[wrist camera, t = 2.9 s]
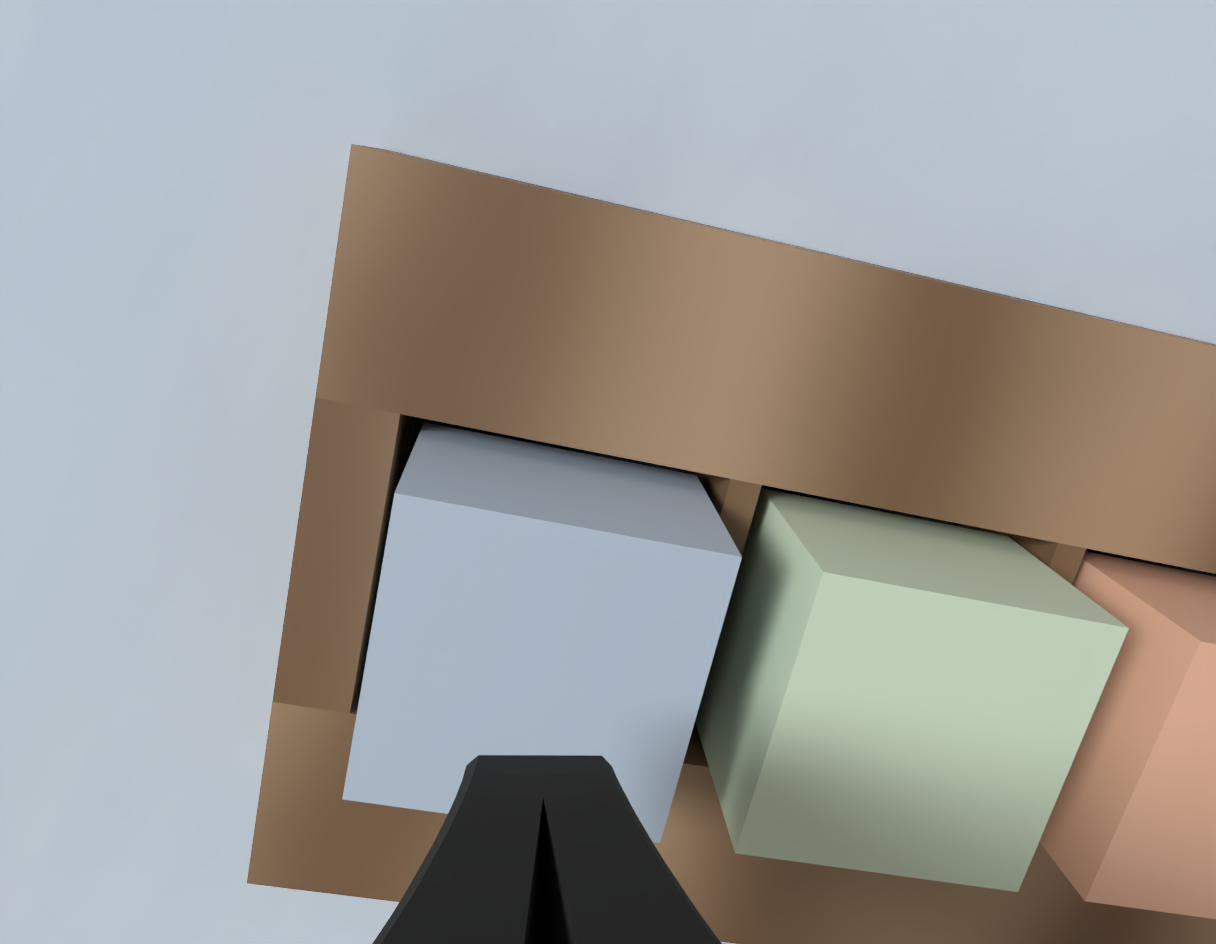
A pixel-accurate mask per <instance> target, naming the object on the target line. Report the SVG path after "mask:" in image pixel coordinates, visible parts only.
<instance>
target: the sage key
mask: <svg viewBox="0 0 1216 944" xmlns="http://www.w3.org/2000/svg"><path fill="white" fill-rule="evenodd" d="M1128 629H1129V628H1128V627H1127V626H1125V625H1124V624H1123V623H1122V622H1120V621H1119V620H1118V619H1116V618H1115V617H1114V616H1112V615H1111V614H1110V613H1108V612H1107V611H1106V610H1104V609H1103V608H1102V607H1100V606H1099V605H1098V604H1097V603H1095V602H1094V601H1093V600H1091V599H1090V598H1089V597H1087V596H1086V595H1085V594H1083V593H1082V592H1081V591H1079V590H1078V589H1077V588H1075V587H1074V586H1073V585H1071V584H1070V583H1069V582H1068V581H1066V580H1065V579H1064V578H1062V577H1061V576H1060V575H1058V574H1057V573H1056V572H1054V571H1053V570H1052V569H1050V568H1049V567H1048V566H1046V565H1045V564H1044V563H1042V562H1041V561H1040V560H1039V559H1037V558H1036V557H1035V556H1033V555H1032V554H1031V553H1029V552H1028V551H1027V550H1025V549H1024V548H1023V547H1021V546H1020V545H1019V544H1017V543H1016V542H1015V541H1013V540H1012V539H1011V538H1010V537H1008V536H1004V535H999V534H994V533H989V532H984V531H978V530H973V529H968V528H963V527H958V526H953V525H948V524H943V523H937V522H932V521H927V520H922V519H917V518H912V517H907V516H902V515H897V514H891V513H886V512H881V511H876V510H871V509H866V508H861V507H856V506H850V505H845V504H840V503H835V502H830V501H825V500H820V499H815V498H810V497H804V496H799V495H794V494H789V493H784V492H779V491H774V490H769V489H763V488H761V492H760V495H759V499H758V502H757V506H756V509H755V513H754V516H753V520H752V523H751V527H750V530H749V534H748V537H747V541H746V544H745V548H744V551H743V555H742V559H741V563H740V566H739V570H738V573H737V577H736V580H735V584H734V587H733V590H732V594H731V597H730V601H729V604H728V608H727V611H726V615H725V618H724V622H723V625H722V629H721V632H720V636H719V639H718V643H717V646H716V650H715V653H714V657H713V660H712V664H711V667H710V671H709V674H708V678H707V681H706V685H705V688H704V692H703V695H702V699H701V702H700V706H699V709H698V713H697V716H696V720H695V723H696V726H697V730H698V733H699V736H700V739H701V743H702V746H703V749H704V753H705V756H706V759H707V762H708V766H709V769H710V772H711V776H712V779H713V782H714V786H715V789H716V792H717V795H718V799H719V802H720V805H721V809H722V812H723V815H724V818H725V822H726V825H727V828H728V832H729V835H730V838H731V841H732V845H733V848H734V851H735V853H737V854H744V855H751V856H759V857H766V858H773V859H780V860H788V861H795V862H802V863H810V864H817V865H824V866H831V867H839V868H846V869H853V870H861V871H868V872H875V873H882V874H890V875H897V876H904V877H912V878H919V879H926V880H934V881H941V882H948V883H955V884H963V885H970V886H977V887H985V888H992V889H999V890H1006V891H1014V892H1018V891H1019V888H1020V886H1021V884H1022V881H1023V879H1024V877H1025V874H1026V872H1027V869H1028V867H1029V865H1030V862H1031V860H1032V858H1033V855H1034V853H1035V850H1036V848H1037V846H1038V843H1039V841H1040V839H1041V836H1042V834H1043V831H1044V829H1045V827H1046V824H1047V822H1048V820H1049V817H1050V815H1051V812H1052V810H1053V808H1054V805H1055V803H1056V801H1057V798H1058V796H1059V793H1060V791H1061V789H1062V786H1063V784H1064V782H1065V779H1066V777H1067V774H1068V772H1069V770H1070V767H1071V765H1072V763H1073V760H1074V758H1075V755H1076V753H1077V751H1078V748H1079V746H1080V743H1081V741H1082V739H1083V736H1084V734H1085V732H1086V729H1087V727H1088V724H1089V722H1090V720H1091V717H1092V715H1093V713H1094V710H1095V708H1096V705H1097V703H1098V701H1099V698H1100V696H1101V694H1102V691H1103V689H1104V686H1105V684H1106V682H1107V679H1108V677H1109V675H1110V672H1111V670H1112V667H1113V665H1114V663H1115V660H1116V658H1117V656H1118V653H1119V651H1120V648H1121V646H1122V644H1123V641H1124V639H1125V637H1126V634H1127V632H1128Z"/></svg>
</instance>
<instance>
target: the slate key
mask: <svg viewBox="0 0 1216 944" xmlns="http://www.w3.org/2000/svg"><path fill="white" fill-rule="evenodd" d="M741 559H742V556H741V554H740V552H739V551H738V549H737V547H736V545H735V543H734V542H733V540H732V538H731V536H730V534H729V533H728V531H727V529H726V527H725V525H724V524H723V522H722V520H721V518H720V516H719V515H718V513H717V511H716V509H715V507H714V506H713V504H712V502H711V500H710V498H709V497H708V495H707V493H706V491H705V489H704V488H703V486H702V484H701V482H700V480H699V479H698V477H697V475H692V474H687V473H682V472H676V471H671V470H666V469H661V468H656V467H651V466H646V465H641V464H636V463H630V462H625V461H620V460H615V459H610V458H605V457H600V456H595V455H589V454H584V453H579V452H574V451H569V450H564V449H559V448H554V447H549V446H543V445H538V444H533V443H528V442H523V441H518V440H513V439H508V438H502V437H497V436H492V435H487V434H482V433H477V432H472V431H467V430H461V429H456V428H451V427H446V426H441V425H436V424H431V423H426V422H424V423H423V426H422V428H421V431H420V433H419V435H418V438H417V440H416V443H415V445H414V447H413V450H412V452H411V455H410V457H409V459H408V462H407V464H406V467H405V469H404V471H403V474H402V476H401V479H400V481H399V483H398V486H397V488H396V491H395V493H394V499H393V504H392V510H391V516H390V522H389V528H388V534H387V540H386V545H385V551H384V557H383V563H382V569H381V575H380V581H379V587H378V592H377V598H376V604H375V610H374V616H373V622H372V628H371V633H370V639H369V645H368V651H367V657H366V663H365V669H364V674H363V680H362V686H361V692H360V698H359V704H358V710H357V716H356V721H355V727H354V733H353V739H352V745H351V751H350V757H349V762H348V768H347V774H346V780H345V786H344V792H343V798H342V799H343V800H350V801H358V802H365V803H372V804H380V805H387V806H394V807H401V808H409V809H416V810H423V811H431V812H438V813H445V814H448V813H449V811H450V809H451V806H452V804H453V802H454V800H455V797H456V795H457V792H458V790H459V787H460V785H461V782H462V779H463V776H464V772H465V769H466V765H467V764H469V763H470V762H471V761H472V760H473V759H474V758H476V757H477V756H478V755H592V756H603V757H604V758H605V759H606V760H607V762H608V763H609V764H610V765H611V766H612V768H613V770H614V772H615V774H616V777H617V779H618V781H619V783H620V785H621V787H622V789H623V791H624V793H625V794H626V796H627V798H628V800H629V802H630V804H631V806H632V807H633V809H634V811H635V813H636V815H637V816H638V818H639V820H640V822H641V823H642V825H643V827H644V828H645V830H646V832H647V833H648V835H649V837H650V838H651V840H652V842H657V843H660V842H661V838H662V835H663V832H664V828H665V825H666V821H667V818H668V814H669V811H670V807H671V804H672V800H673V797H674V793H675V790H676V786H677V783H678V779H679V776H680V772H681V769H682V765H683V762H684V758H685V755H686V751H687V748H688V744H689V741H690V737H691V734H692V730H693V727H694V723H695V720H696V716H697V713H698V709H699V706H700V702H701V699H702V695H703V692H704V688H705V685H706V681H707V678H708V674H709V671H710V667H711V664H712V660H713V657H714V653H715V650H716V646H717V643H718V639H719V636H720V632H721V629H722V625H723V622H724V618H725V615H726V611H727V608H728V604H729V601H730V597H731V594H732V590H733V587H734V584H735V580H736V577H737V573H738V570H739V566H740V563H741Z"/></svg>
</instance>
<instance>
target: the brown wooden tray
mask: <svg viewBox="0 0 1216 944" xmlns="http://www.w3.org/2000/svg"><path fill="white" fill-rule="evenodd" d="M414 417H418V418H423V419H428V420H433V421H438V422H443V423H448V424H454V425H459V426H464V427H469V428H474V429H479V430H484V431H489V432H494V433H499V434H505V435H510V436H515V437H520V438H525V439H530V440H535V441H540V442H545V443H551V444H556V445H561V446H566V447H571V448H576V449H581V450H586V451H591V452H596V453H602V454H607V455H612V456H617V457H622V458H627V459H632V460H637V461H642V462H648V463H653V464H658V465H663V466H668V467H673V468H678V469H683V470H686V472H685V473H687V474H692V475H697V477H698V479H699V480H700V482H701V484H702V486H703V488H704V489H705V491H706V493H707V495H708V497H709V498H710V500H711V502H712V504H713V506H714V507H715V509H716V511H717V513H718V515H719V516H720V518H721V520H722V522H723V524H724V525H725V527H726V529H727V531H728V533H729V534H730V536H731V538H732V540H733V542H734V543H735V545H736V547H737V549H738V551H739V552H740V554H741V556H742V553H743V549H744V546H745V542H746V539H747V535H748V532H749V528H750V525H751V521H752V518H753V514H754V511H755V507H756V504H757V500H758V497H759V493H760V490H761V486H762V485H765V486H770V487H775V488H780V489H785V490H790V491H796V492H801V493H806V494H811V495H816V496H821V497H826V498H831V499H836V500H842V501H847V502H852V503H857V504H862V505H867V506H872V507H877V508H882V509H887V510H893V511H898V512H903V513H908V514H913V515H918V516H923V517H928V518H933V519H938V520H944V521H949V522H954V523H959V524H960V526H959V527H963V528H968V529H973V530H978V531H984V532H989V533H994V534H999V535H1004V536H1008V537H1010V538H1011V539H1012V540H1013V541H1015V542H1016V543H1017V544H1019V545H1020V546H1021V547H1023V548H1024V549H1025V550H1027V551H1028V552H1029V553H1031V554H1032V555H1033V556H1035V557H1036V558H1037V559H1039V560H1040V561H1041V562H1042V563H1044V564H1045V565H1046V566H1048V567H1049V568H1050V569H1052V570H1053V571H1054V572H1056V573H1057V574H1058V575H1060V576H1061V577H1062V578H1064V579H1065V580H1066V581H1068V582H1069V583H1070V584H1071V585H1072V584H1073V582H1074V579H1075V577H1076V574H1077V571H1078V569H1079V566H1080V564H1081V561H1082V559H1083V556H1084V554H1085V551H1086V549H1092V550H1097V551H1102V552H1107V553H1112V554H1117V555H1122V556H1127V557H1132V558H1138V559H1143V560H1148V561H1153V562H1158V563H1163V564H1168V565H1173V566H1178V567H1184V568H1189V569H1194V570H1199V571H1204V572H1209V573H1212V575H1211V576H1214V577H1216V345H1215V344H1211V343H1207V342H1202V341H1198V340H1194V339H1190V338H1185V337H1181V336H1177V335H1173V334H1168V333H1164V332H1160V331H1156V330H1151V329H1147V328H1143V327H1139V326H1134V325H1130V324H1126V323H1122V322H1117V321H1113V320H1109V319H1104V318H1100V317H1096V316H1092V315H1087V314H1083V313H1079V312H1075V311H1070V310H1066V309H1062V308H1058V307H1053V306H1049V305H1045V304H1041V303H1036V302H1032V301H1028V300H1024V299H1019V298H1015V297H1011V296H1007V295H1002V294H998V293H994V292H990V291H985V290H981V289H977V288H972V287H968V286H964V285H960V284H955V283H951V282H947V281H943V280H938V279H934V278H930V277H926V276H921V275H917V274H913V273H909V272H904V271H900V270H896V269H892V268H887V267H883V266H879V265H875V264H870V263H866V262H862V261H858V260H853V259H849V258H845V257H840V256H836V255H832V254H828V253H823V252H819V251H815V250H811V249H806V248H802V247H798V246H794V245H789V244H785V243H781V242H777V241H772V240H768V239H764V238H760V237H755V236H751V235H747V234H743V233H738V232H734V231H730V230H726V229H721V228H717V227H713V226H708V225H704V224H700V223H696V222H691V221H687V220H683V219H679V218H674V217H670V216H666V215H662V214H657V213H653V212H649V211H645V210H640V209H636V208H632V207H628V206H623V205H619V204H615V203H611V202H606V201H602V200H598V199H594V198H589V197H585V196H581V195H576V194H572V193H568V192H564V191H559V190H555V189H551V188H547V187H542V186H538V185H534V184H530V183H525V182H521V181H517V180H513V179H508V178H504V177H500V176H496V175H491V174H487V173H483V172H479V171H474V170H470V169H466V168H462V167H457V166H453V165H449V164H444V163H440V162H436V161H432V160H427V159H423V158H419V157H415V156H410V155H406V154H402V153H398V152H393V151H389V150H385V149H379V148H373V147H366V146H360V145H354V144H351V151H350V158H349V165H348V172H347V179H346V186H345V193H344V201H343V208H342V215H341V222H340V229H339V236H338V243H337V250H336V257H335V264H334V271H333V278H332V285H331V292H330V300H329V307H328V314H327V321H326V328H325V335H324V342H323V349H322V356H321V363H320V370H319V377H318V384H317V392H316V399H315V406H314V413H313V420H312V427H311V434H310V441H309V448H308V455H307V462H306V469H305V476H304V484H303V491H302V498H301V505H300V512H299V519H298V526H297V533H296V540H295V547H294V554H293V561H292V568H291V575H290V583H289V590H288V597H287V604H286V611H285V618H284V625H283V632H282V639H281V646H280V653H279V660H278V667H277V675H276V682H275V689H274V696H273V703H272V710H271V717H270V724H269V731H268V738H267V745H266V752H265V759H264V766H263V774H262V781H261V788H260V795H259V802H258V809H257V816H256V823H255V830H254V837H253V844H252V851H251V858H250V866H249V873H248V880H247V883H250V884H258V885H266V886H274V887H282V888H290V889H298V890H306V891H315V892H323V893H331V894H339V895H347V896H355V897H363V898H371V899H380V900H388V901H396V902H400V901H401V899H402V897H403V896H404V894H405V892H406V890H407V889H408V887H409V885H410V884H411V882H412V880H413V878H414V877H415V875H416V873H417V871H418V870H419V868H420V866H421V864H422V863H423V861H424V859H425V857H426V856H427V854H428V852H429V850H430V849H431V847H432V845H433V843H434V841H435V839H436V837H437V835H438V833H439V831H440V829H441V827H442V825H443V823H444V821H445V819H446V817H447V815H448V814H445V813H438V812H431V811H423V810H416V809H409V808H401V807H394V806H387V805H380V804H372V803H365V802H358V801H350V800H343V799H342V798H343V792H344V786H345V780H346V774H347V768H348V762H349V757H350V751H351V745H352V739H353V733H354V727H355V721H356V716H357V710H358V704H359V698H360V692H361V686H362V680H363V674H364V669H365V663H366V657H367V651H368V645H369V639H370V633H371V628H372V622H373V616H374V610H375V604H376V598H377V592H378V587H379V581H380V575H381V569H382V563H383V557H384V551H385V545H386V540H387V534H388V528H389V522H390V516H391V510H392V504H393V499H394V493H395V491H396V488H397V486H398V483H399V481H400V479H401V476H402V474H403V471H404V469H405V467H406V464H407V458H408V452H409V446H410V440H411V435H412V429H413V423H414ZM653 844H654V845H655V847H656V848H657V850H658V852H659V853H660V855H661V856H662V858H663V859H664V861H665V863H666V864H667V866H668V867H669V869H670V870H671V872H672V873H673V875H674V876H675V878H676V879H677V881H678V882H679V884H680V885H681V887H682V888H683V889H684V891H685V892H686V894H687V895H688V897H689V898H690V900H691V901H692V903H693V904H694V906H695V907H696V909H697V910H698V912H699V913H700V915H701V916H702V917H703V919H704V920H705V921H706V923H707V924H708V926H709V927H710V928H711V930H712V931H713V932H714V934H715V935H716V937H717V938H718V939H719V941H721V942H729V943H737V944H1216V919H1210V918H1203V917H1196V916H1189V915H1181V914H1174V913H1167V912H1159V911H1152V910H1145V909H1138V908H1130V907H1123V906H1116V905H1108V904H1101V903H1094V902H1087V901H1084V900H1083V898H1082V897H1081V896H1080V894H1079V893H1078V892H1077V890H1076V889H1075V888H1074V886H1073V885H1072V884H1071V883H1070V881H1069V880H1068V879H1067V877H1066V876H1065V875H1064V873H1063V872H1062V871H1061V869H1060V868H1059V867H1058V866H1057V864H1056V863H1055V862H1054V860H1053V859H1052V858H1051V856H1050V855H1049V854H1048V852H1047V851H1046V850H1045V848H1044V847H1043V846H1042V845H1041V843H1040V842H1039V843H1038V846H1037V848H1036V850H1035V853H1034V855H1033V858H1032V860H1031V862H1030V865H1029V867H1028V869H1027V872H1026V874H1025V877H1024V879H1023V881H1022V884H1021V886H1020V888H1019V891H1018V892H1014V891H1006V890H999V889H992V888H985V887H977V886H970V885H963V884H955V883H948V882H941V881H934V880H926V879H919V878H912V877H904V876H897V875H890V874H882V873H875V872H868V871H861V870H853V869H846V868H839V867H831V866H824V865H817V864H810V863H802V862H795V861H788V860H780V859H773V858H766V857H759V856H751V855H744V854H737V853H735V851H734V848H733V845H732V841H731V838H730V835H729V832H728V828H727V825H726V822H725V818H724V815H723V812H722V809H721V805H720V802H719V799H718V795H717V792H716V789H715V786H714V782H713V779H712V776H711V772H710V769H709V766H708V762H707V759H706V756H705V753H704V749H703V746H702V743H701V739H700V736H699V733H698V730H697V726H696V723H694V727H693V730H692V734H691V737H690V741H689V744H688V748H687V751H686V755H685V758H684V762H683V765H682V769H681V772H680V776H679V779H678V783H677V786H676V790H675V793H674V797H673V800H672V804H671V807H670V811H669V814H668V818H667V821H666V825H665V828H664V832H663V835H662V838H661V842H660V843H657V842H653Z"/></svg>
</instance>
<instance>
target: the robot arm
mask: <svg viewBox="0 0 1216 944" xmlns="http://www.w3.org/2000/svg"><path fill="white" fill-rule="evenodd" d="M373 944H722V943H721V942H720V941H719V939H718V938H717V937H716V935H715V934H714V932H713V931H712V930H711V928H710V927H709V926H708V924H707V923H706V921H705V920H704V919H703V917H702V916H701V915H700V913H699V912H698V910H697V909H696V907H695V906H694V904H693V903H692V901H691V900H690V898H689V897H688V895H687V894H686V892H685V891H684V889H683V888H682V887H681V885H680V884H679V882H678V881H677V879H676V878H675V876H674V875H673V873H672V872H671V870H670V869H669V867H668V866H667V864H666V863H665V861H664V859H663V858H662V856H661V855H660V853H659V852H658V850H657V848H656V847H655V845H654V844H653V842H652V840H651V838H650V837H649V835H648V833H647V832H646V830H645V828H644V827H643V825H642V823H641V822H640V820H639V818H638V816H637V815H636V813H635V811H634V809H633V807H632V806H631V804H630V802H629V800H628V798H627V796H626V794H625V793H624V791H623V789H622V787H621V785H620V783H619V781H618V779H617V777H616V774H615V772H614V770H613V768H612V766H611V765H610V764H609V763H608V762H607V760H606V759H605V758H604V757H603V756H592V755H478V756H477V757H476V758H474V759H473V760H472V761H471V762H470V763H469V764H467V765H466V769H465V772H464V776H463V779H462V782H461V785H460V787H459V790H458V792H457V795H456V797H455V800H454V802H453V804H452V806H451V809H450V811H449V813H448V815H447V817H446V819H445V821H444V823H443V825H442V827H441V829H440V831H439V833H438V835H437V837H436V839H435V841H434V843H433V845H432V847H431V849H430V850H429V852H428V854H427V856H426V857H425V859H424V861H423V863H422V864H421V866H420V868H419V870H418V871H417V873H416V875H415V877H414V878H413V880H412V882H411V884H410V885H409V887H408V889H407V890H406V892H405V894H404V896H403V897H402V899H401V901H400V902H399V904H398V906H397V907H396V909H395V911H394V912H393V914H392V915H391V917H390V918H389V920H388V921H387V923H386V924H385V926H384V927H383V929H382V930H381V932H380V933H379V935H378V936H377V938H376V939H375V941H374V942H373Z"/></svg>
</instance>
